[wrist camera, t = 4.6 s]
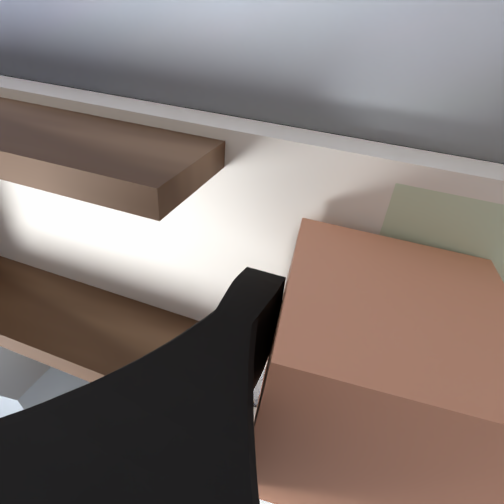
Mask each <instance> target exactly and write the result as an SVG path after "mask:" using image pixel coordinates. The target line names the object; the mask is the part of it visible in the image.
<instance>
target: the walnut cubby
mask: <svg viewBox="0 0 504 504" xmlns="http://www.w3.org/2000/svg"><path fill="white" fill-rule="evenodd" d="M224 164H225V141H223V140H218V139H213V138H208V137H202V136H197V135H192V134H187V133H182V132H177V131H172V130H167V129H161V128H156V127H151V126H146V125H141V124H136V123H131V122H126V121H120V120H115V119H110V118H105V117H100V116H95V115H90V114H85V113H80V112H74V111H69V110H64V109H59V108H54V107H49V106H44V105H39V104H33V103H28V102H23V101H18V100H13V99H8V98H3V97H0V179H1V180H4V181H8V182H12V183H16V184H20V185H23V186H27V187H31V188H35V189H39V190H42V191H46V192H50V193H54V194H58V195H61V196H65V197H69V198H73V199H77V200H80V201H84V202H88V203H92V204H96V205H99V206H103V207H107V208H111V209H114V210H118V211H122V212H126V213H130V214H133V215H137V216H141V217H145V218H149V219H152V220H156V221H161V220H162V219H163V218H164V217H165V216H167V215H168V214H169V213H170V212H171V211H173V210H174V209H175V208H176V207H177V206H179V205H180V204H181V203H182V202H183V201H185V200H186V199H187V198H188V197H189V196H191V195H192V194H193V193H194V192H195V191H197V190H198V189H199V188H200V187H201V186H203V185H204V184H205V183H206V182H207V181H208V180H210V179H211V178H212V177H213V176H214V175H216V174H217V173H218V172H219V171H220V170H222V169H223V168H224ZM197 322H199V321H198V320H195V319H192V318H189V317H185V316H182V315H179V314H176V313H173V312H170V311H167V310H164V309H161V308H158V307H155V306H152V305H149V304H146V303H143V302H140V301H137V300H134V299H130V298H127V297H124V296H121V295H118V294H115V293H112V292H109V291H106V290H103V289H100V288H97V287H94V286H91V285H88V284H85V283H82V282H78V281H75V280H72V279H69V278H66V277H63V276H60V275H57V274H54V273H51V272H48V271H45V270H42V269H39V268H36V267H33V266H30V265H27V264H23V263H20V262H17V261H14V260H11V259H8V258H5V257H2V256H0V346H1V347H4V348H6V349H9V350H11V351H13V352H16V353H18V354H21V355H23V356H26V357H28V358H31V359H33V360H36V361H38V362H41V363H43V364H46V365H48V366H51V367H53V368H56V369H58V370H61V371H63V372H66V373H68V374H71V375H73V376H76V377H78V378H81V379H83V380H86V381H88V382H93V381H95V380H97V379H99V378H101V377H103V376H105V375H107V374H110V373H112V372H114V371H116V370H117V369H119V368H121V367H123V366H125V365H127V364H129V363H131V362H133V361H135V360H137V359H139V358H141V357H143V356H144V355H146V354H148V353H150V352H152V351H153V350H155V349H157V348H159V347H160V346H162V345H164V344H165V343H167V342H169V341H170V340H172V339H173V338H175V337H177V336H178V335H180V334H181V333H183V332H184V331H186V330H187V329H189V328H190V327H192V326H193V325H195V324H196V323H197Z"/></svg>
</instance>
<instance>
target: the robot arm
mask: <svg viewBox="0 0 504 504" xmlns="http://www.w3.org/2000/svg"><path fill="white" fill-rule="evenodd" d="M285 280H286V277H283V276H279V275H276V274H272V273H268V272H265V271H261V270H258V269H254V268H250V267H246V268H245V269H244V270H243V271H242V272H241V273H240V274H239V275H238V276H237V277H236V278H235V279H234V280H233V282H232V283H231V285H230V286H229V288H228V290H227V291H226V293H225V295H224V296H223V298H222V300H221V301H220V303H219V305H218V306H217V308H216V310H214V311H213V312H212V313H210V314H209V315H208V316H206V317H205V318H203V319H202V320H200V321H199V322H197V323H196V324H195V325H193V326H192V327H190V328H189V329H187V330H186V331H184V332H183V333H181V334H180V335H178V336H177V337H175V338H173V339H172V340H170V341H169V342H167V343H165V344H164V345H162V346H160V347H159V348H157V349H155V350H153V351H152V352H150V353H148V354H146V355H144V356H143V357H141V358H139V359H137V360H135V361H133V362H131V363H129V364H127V365H125V366H123V367H121V368H119V369H117V370H116V371H114V372H112V373H110V374H107V375H105V376H103V377H101V378H99V379H97V380H95V381H93V382H90V383H88V384H86V385H83V386H81V387H79V388H76V389H74V390H71V391H69V392H67V393H64V394H62V395H59V396H57V397H55V398H52V399H50V400H47V401H45V402H43V403H40V404H37V405H35V406H32V407H30V408H27V409H24V410H22V411H19V412H16V413H13V414H10V415H7V416H4V417H1V418H0V504H260V503H259V492H258V482H257V468H256V452H255V436H254V409H253V390H254V388H255V386H256V384H257V382H258V380H259V378H260V376H261V374H262V372H263V369H264V367H265V365H266V362H267V360H268V357H269V353H270V349H271V345H272V341H273V337H274V333H275V328H276V324H277V320H278V316H279V312H280V308H281V303H282V299H283V292H284V286H285Z"/></svg>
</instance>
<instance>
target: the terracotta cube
mask: <svg viewBox="0 0 504 504" xmlns="http://www.w3.org/2000/svg"><path fill="white" fill-rule="evenodd" d="M254 436H255V452H256V468H257V482H258V492H259V499H261V500H264V501H267V502H271V503H274V504H504V283H503V281H502V279H501V277H500V275H499V273H498V272H497V270H496V268H495V266H494V264H493V263H492V261H491V260H488V259H484V258H479V257H475V256H471V255H466V254H462V253H457V252H453V251H448V250H444V249H440V248H435V247H431V246H426V245H422V244H417V243H413V242H409V241H404V240H400V239H395V238H391V237H386V236H382V235H377V234H373V233H369V232H364V231H360V230H355V229H351V228H346V227H342V226H338V225H333V224H329V223H324V222H320V221H315V220H311V219H307V218H302V221H301V225H300V229H299V233H298V237H297V241H296V245H295V249H294V253H293V257H292V261H291V265H290V269H289V273H288V277H287V281H286V285H285V290H284V294H283V299H282V303H281V308H280V312H279V316H278V320H277V324H276V328H275V333H274V337H273V341H272V345H271V349H270V353H269V357H268V360H267V364H266V369H265V373H264V378H263V382H262V386H261V391H260V395H259V400H258V404H257V409H256V413H255V417H254Z"/></svg>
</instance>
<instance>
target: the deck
mask: <svg viewBox="0 0 504 504" xmlns="http://www.w3.org/2000/svg"><path fill="white" fill-rule="evenodd" d="M0 97H3V98H8V99H13V100H18V101H23V102H28V103H33V104H39V105H44V106H49V107H54V108H59V109H64V110H69V111H74V112H80V113H85V114H90V115H95V116H100V117H105V118H110V119H115V120H120V121H126V122H131V123H136V124H141V125H146V126H151V127H156V128H161V129H167V130H172V131H177V132H182V133H187V134H192V135H197V136H202V137H208V138H213V139H218V140H223V141H225V164H224V168H223V169H222V170H220V171H219V172H218V173H217V174H216V175H214V176H213V177H212V178H211V179H210V180H208V181H207V182H206V183H205V184H204V185H203V186H201V187H200V188H199V189H198V190H197V191H195V192H194V193H193V194H192V195H191V196H189V197H188V198H187V199H186V200H185V201H183V202H182V203H181V204H180V205H179V206H177V207H176V208H175V209H174V210H173V211H171V212H170V213H169V214H168V215H167V216H165V217H164V218H163V219H162V220H161V221H156V220H152V219H149V218H145V217H141V216H137V215H133V214H130V213H126V212H122V211H118V210H114V209H111V208H107V207H103V206H99V205H96V204H92V203H88V202H84V201H80V200H77V199H73V198H69V197H65V196H61V195H58V194H54V193H50V192H46V191H42V190H39V189H35V188H31V187H27V186H23V185H20V184H16V183H12V182H8V181H4V180H1V179H0V256H2V257H5V258H8V259H11V260H14V261H17V262H20V263H23V264H27V265H30V266H33V267H36V268H39V269H42V270H45V271H48V272H51V273H54V274H57V275H60V276H63V277H66V278H69V279H72V280H75V281H78V282H82V283H85V284H88V285H91V286H94V287H97V288H100V289H103V290H106V291H109V292H112V293H115V294H118V295H121V296H124V297H127V298H130V299H134V300H137V301H140V302H143V303H146V304H149V305H152V306H155V307H158V308H161V309H164V310H167V311H170V312H173V313H176V314H179V315H182V316H185V317H189V318H192V319H195V320H198V321H200V320H202V319H203V318H205V317H206V316H208V315H209V314H210V313H212V312H213V311H214V310H216V308H217V306H218V305H219V303H220V301H221V300H222V298H223V296H224V295H225V293H226V291H227V290H228V288H229V286H230V285H231V283H232V282H233V280H234V279H235V278H236V277H237V276H238V275H239V274H240V273H241V272H242V271H243V270H244V269H245V268H246V267H250V268H254V269H258V270H261V271H265V272H268V273H272V274H276V275H279V276H283V277H286V280H285V285H286V281H287V277H288V273H289V269H290V265H291V261H292V257H293V253H294V249H295V245H296V241H297V237H298V233H299V229H300V225H301V221H302V218H307V219H311V220H315V221H320V222H324V223H329V224H333V225H338V226H342V227H346V228H351V229H355V230H360V231H364V232H369V233H373V234H377V235H382V236H386V237H391V238H395V239H400V240H404V241H409V242H413V243H417V244H422V245H426V246H431V247H435V248H440V249H444V250H448V251H453V252H457V253H462V254H466V255H471V256H475V257H479V258H484V259H488V260H491V261H492V263H493V264H494V266H495V268H496V270H497V272H498V273H499V275H500V277H501V279H502V281H503V283H504V164H499V163H494V162H488V161H482V160H477V159H471V158H465V157H460V156H454V155H449V154H443V153H437V152H432V151H426V150H420V149H415V148H409V147H403V146H398V145H392V144H386V143H381V142H375V141H369V140H364V139H358V138H352V137H347V136H341V135H336V134H330V133H324V132H319V131H313V130H307V129H302V128H296V127H290V126H285V125H279V124H273V123H268V122H262V121H256V120H251V119H245V118H239V117H234V116H228V115H223V114H217V113H211V112H206V111H200V110H194V109H189V108H183V107H177V106H172V105H166V104H160V103H155V102H149V101H143V100H138V99H132V98H126V97H121V96H115V95H110V94H104V93H98V92H93V91H87V90H81V89H76V88H70V87H64V86H59V85H53V84H47V83H42V82H36V81H30V80H25V79H19V78H13V77H8V76H2V75H0ZM284 290H285V286H284ZM283 294H284V292H283ZM266 364H267V362H266ZM265 367H266V365H265ZM253 409H254V417H255V413H256V409H257V408H256V407H253Z"/></svg>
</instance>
